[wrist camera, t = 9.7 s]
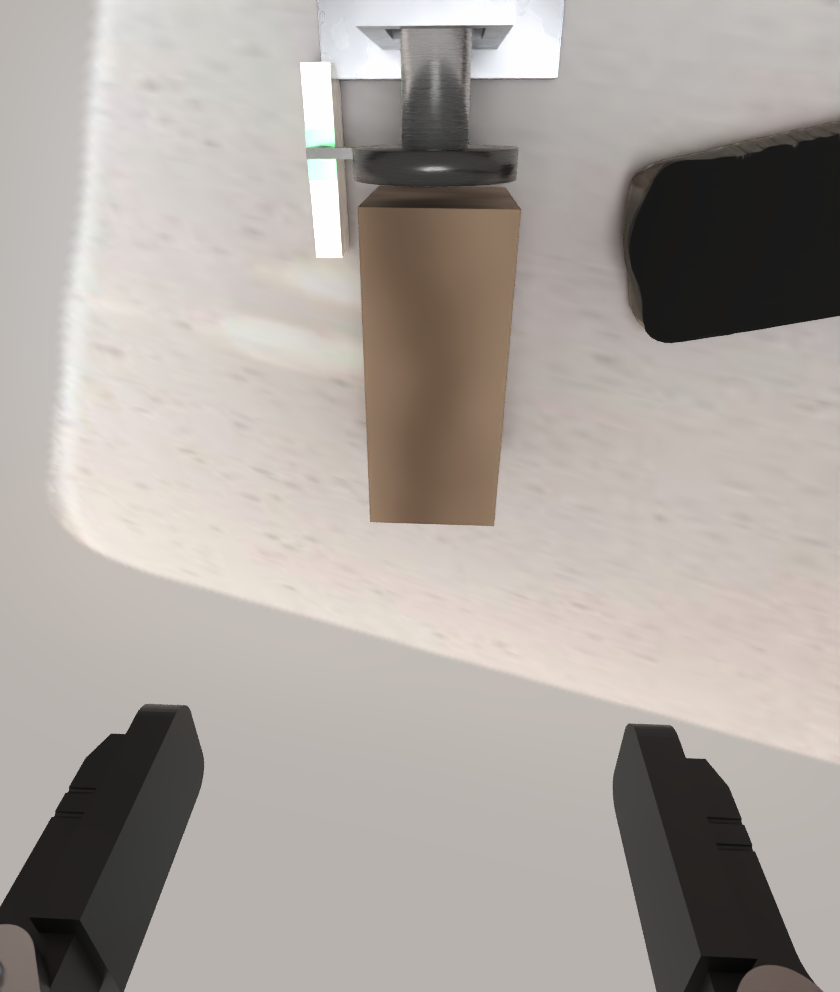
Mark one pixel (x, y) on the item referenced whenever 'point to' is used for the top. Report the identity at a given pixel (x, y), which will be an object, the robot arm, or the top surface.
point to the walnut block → (436, 348)
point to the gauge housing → (377, 56)
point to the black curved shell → (736, 237)
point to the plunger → (431, 122)
